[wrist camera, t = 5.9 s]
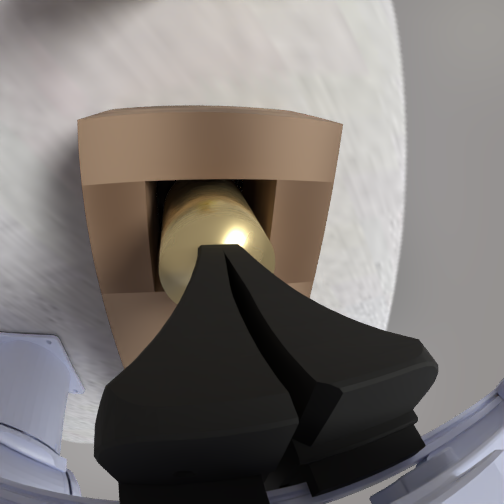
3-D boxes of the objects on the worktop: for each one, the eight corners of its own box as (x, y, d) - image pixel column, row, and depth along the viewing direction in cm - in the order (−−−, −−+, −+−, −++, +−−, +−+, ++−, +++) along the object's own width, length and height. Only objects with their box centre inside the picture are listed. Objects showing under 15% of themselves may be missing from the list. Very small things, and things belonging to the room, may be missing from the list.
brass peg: (165, 246, 15) (164, 318, 11) (162, 171, 13) (154, 218, 9) (240, 243, 16) (268, 310, 12) (246, 170, 14) (282, 215, 10)
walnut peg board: (149, 378, 24) (151, 435, 19) (112, 109, 13) (77, 119, 8) (257, 369, 27) (274, 422, 22) (291, 111, 16) (343, 124, 11)
